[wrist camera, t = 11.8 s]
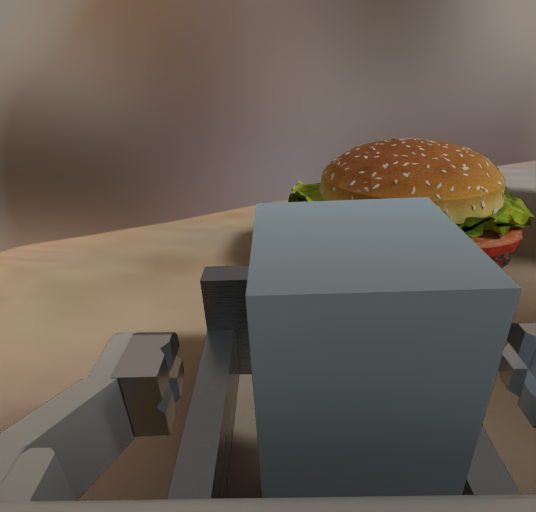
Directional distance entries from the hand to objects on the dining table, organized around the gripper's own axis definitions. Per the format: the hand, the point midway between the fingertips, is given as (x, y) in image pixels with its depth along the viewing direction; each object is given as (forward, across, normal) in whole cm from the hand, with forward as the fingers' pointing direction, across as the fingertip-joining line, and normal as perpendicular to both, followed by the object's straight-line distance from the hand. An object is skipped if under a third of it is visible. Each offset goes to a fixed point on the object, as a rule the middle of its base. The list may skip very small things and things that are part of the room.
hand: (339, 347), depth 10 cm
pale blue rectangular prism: (-1, 0, +6) cm, 7 cm away
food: (+17, -6, +7) cm, 20 cm away
